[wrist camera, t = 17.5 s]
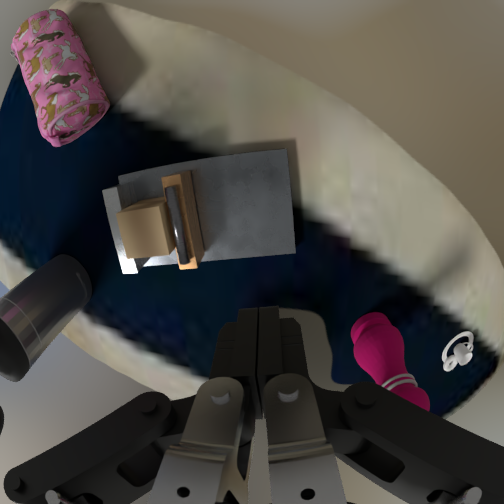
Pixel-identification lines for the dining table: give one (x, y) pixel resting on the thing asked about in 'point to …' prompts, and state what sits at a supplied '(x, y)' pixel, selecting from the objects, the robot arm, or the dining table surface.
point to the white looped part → (458, 352)
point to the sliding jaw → (183, 219)
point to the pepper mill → (385, 357)
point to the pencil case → (58, 77)
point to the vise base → (219, 205)
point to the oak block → (146, 229)
